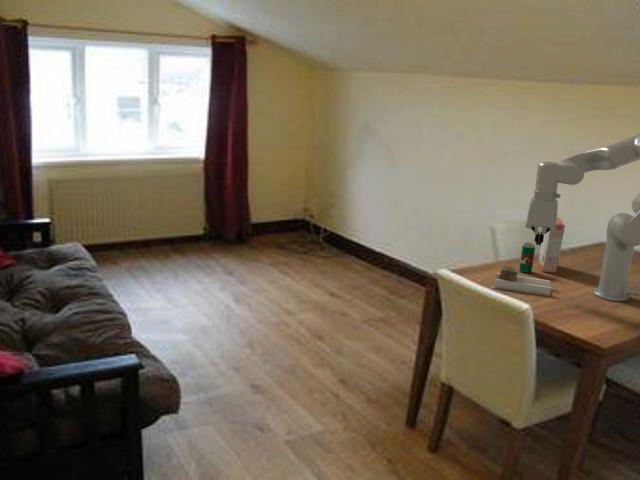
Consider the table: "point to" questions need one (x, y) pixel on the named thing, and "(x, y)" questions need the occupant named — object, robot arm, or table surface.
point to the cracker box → (551, 248)
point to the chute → (525, 285)
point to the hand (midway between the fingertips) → (538, 244)
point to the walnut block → (508, 273)
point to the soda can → (527, 258)
